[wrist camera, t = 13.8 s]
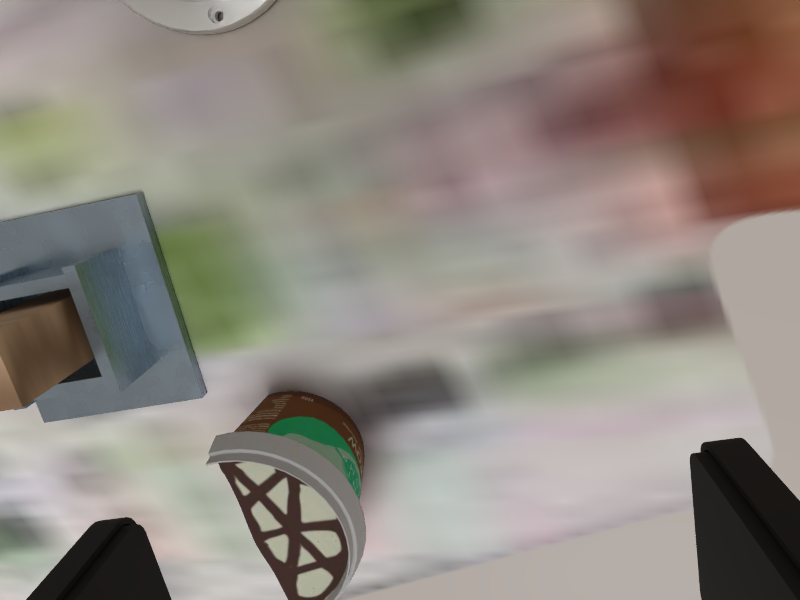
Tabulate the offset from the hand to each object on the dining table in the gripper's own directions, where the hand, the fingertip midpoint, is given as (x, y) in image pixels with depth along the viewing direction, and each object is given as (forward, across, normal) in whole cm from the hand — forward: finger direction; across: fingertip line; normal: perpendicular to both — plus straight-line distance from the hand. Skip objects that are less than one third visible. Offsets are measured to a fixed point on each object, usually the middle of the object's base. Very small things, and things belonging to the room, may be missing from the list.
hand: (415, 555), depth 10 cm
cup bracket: (+28, +24, +1) cm, 37 cm away
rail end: (+28, +24, +1) cm, 36 cm away
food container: (+28, +10, +13) cm, 33 cm away
